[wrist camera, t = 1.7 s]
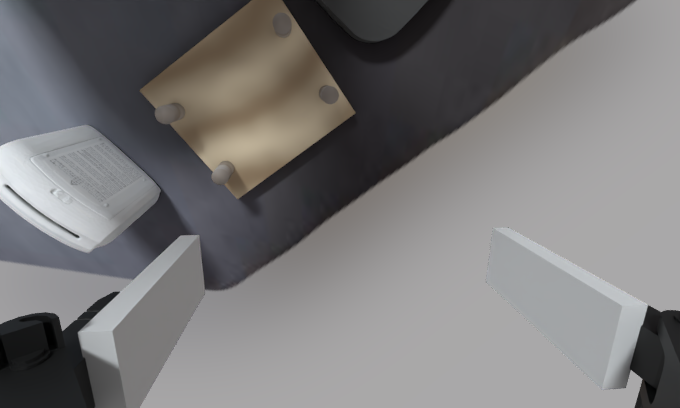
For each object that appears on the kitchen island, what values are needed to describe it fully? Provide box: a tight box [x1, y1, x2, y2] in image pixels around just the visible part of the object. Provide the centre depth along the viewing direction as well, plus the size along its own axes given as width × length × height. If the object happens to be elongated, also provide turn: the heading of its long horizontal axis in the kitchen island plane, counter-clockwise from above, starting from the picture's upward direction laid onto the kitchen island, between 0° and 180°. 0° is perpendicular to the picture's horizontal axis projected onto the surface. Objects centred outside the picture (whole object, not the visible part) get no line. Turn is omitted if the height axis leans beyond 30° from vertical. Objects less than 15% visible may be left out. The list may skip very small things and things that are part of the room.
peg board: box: [139, 0, 355, 199], centre depth 33 cm, size 14×16×5 cm
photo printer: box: [0, 125, 161, 253], centre depth 30 cm, size 10×4×12 cm, turn 39°
